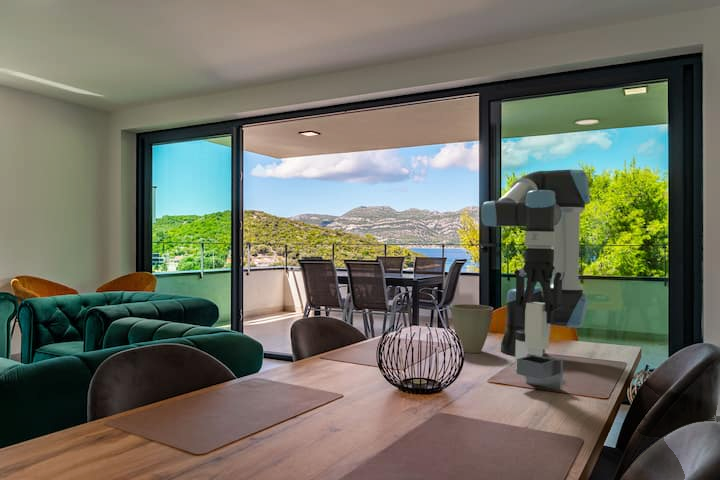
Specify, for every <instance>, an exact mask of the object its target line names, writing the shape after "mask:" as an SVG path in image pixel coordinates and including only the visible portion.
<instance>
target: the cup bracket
mask: <svg viewBox="0 0 720 480" xmlns="http://www.w3.org/2000/svg"><path fill="white" fill-rule="evenodd" d="M563 372H564V360H563V359H560V358H559V359H558V358H552V357H547V356H544V355H543V356H537V355H532V354H527V357H523V358H519V359H517V371H516V374H517V375H520V376H525V377H526V379H525V384H530V385H532V386H533V385H534V386H539V387H543V388H547V389H551V388H552V390H555V389H556V391H560V390H561V391H562V390H563V377H564V375H563V374H564V373H563Z"/></svg>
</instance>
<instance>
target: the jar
mask: <svg viewBox="0 0 720 480" xmlns="http://www.w3.org/2000/svg"><path fill="white" fill-rule="evenodd" d="M527 354H532V355H537V356H543V357H544V355H543V350H537V349H532V348H526V347H525V329H524V330H517V331H516V349H515V355H514V359H515V361H514V362H515V363H514V370H515V372H517V359H519V358H523V357H527Z"/></svg>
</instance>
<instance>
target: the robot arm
mask: <svg viewBox="0 0 720 480" xmlns="http://www.w3.org/2000/svg"><path fill="white" fill-rule="evenodd" d="M588 179H589V178H588V176H587V173H586V172H585V170H583V169H557V170H556V169H555V170H552V169H551V170H537V171H533V172H531V173H530V172H529V173H528V174H525V175H523V176H521V177H519V178H517V179H516V180H515V181H514V182H513V183H512V184H511V185H510V189H509V190H508V191H507V192H506V193H505V194H503V195H502V196H501V197H500V198H499V199H498V200H491V201H490V200H488V201H485V202H483V203H482V206H481V214H480V215H481V216H480V217H481V221H482V225H484V226H486V227H493V228H495V227H519V228H520V227H523V228H525V230H524V231H525V233H524V234H525V236H524V237H525V238H524V239H525V240H524V245H525V249H524V265H523V268H519V269H515V270H514V276H515V288H511V289H510V290H508V291H507V295H506V302H505V303H506V316H505V317H506V323H505V324H506V325H505V326H506V327H505V332H504V334H503V335H504V336H503V338H502V341H501V344H500V352H502V353H504V354H507V355H510V356H511V355H512V356H515V349H516V331H517V330H524V329H525V328H526V303H529V302H540V303H545V306H546V310H545V311H543V336H549V337H550V336H551V326H552V327H553V326H554V327H565V328H580V327H582V325H583V324H584V321H585V316H586V312H587V307H588V306H587V305H588V294H586V293H584V288H583V287H582V286H581V284H579V271H580V268H579V267H580V266H579V265H580V263H579V262H580V260H579V259H580V224H581V223H580V221H581V213H582V212H583V211H584V210H586V205H588V204H589V203H591V202H590V201H591V195H590V186H589V180H588ZM525 275H526V276H525ZM525 277H526V279H527V280H526V283H525ZM550 278H551V279H550ZM537 283H539V284H540V286H536V285H537ZM525 285H526V286H525ZM545 354H546V349H543V356H544V355H545Z"/></svg>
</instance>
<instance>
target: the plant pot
mask: <svg viewBox="0 0 720 480" xmlns="http://www.w3.org/2000/svg"><path fill="white" fill-rule="evenodd" d="M450 308H451V310H450V311H451V319H452V324H453V330H454V334H455V333H456V335H457V336H458V337H459V339H460V340H461V343H462V345H463V349H464V352H463V353H468V354H479V353H481V352H482V350H483V348H484V345H485V343H486V340H487V337H488V334H489V330H490V327H491V323H492V319H493V313H494V307H492V306H488V305H485V304H484V305H482V304H471V303H470V304H467V303H462V304H461V303H460V304H458V303H456V304H452V305H450ZM456 335H455V336H456Z"/></svg>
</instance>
